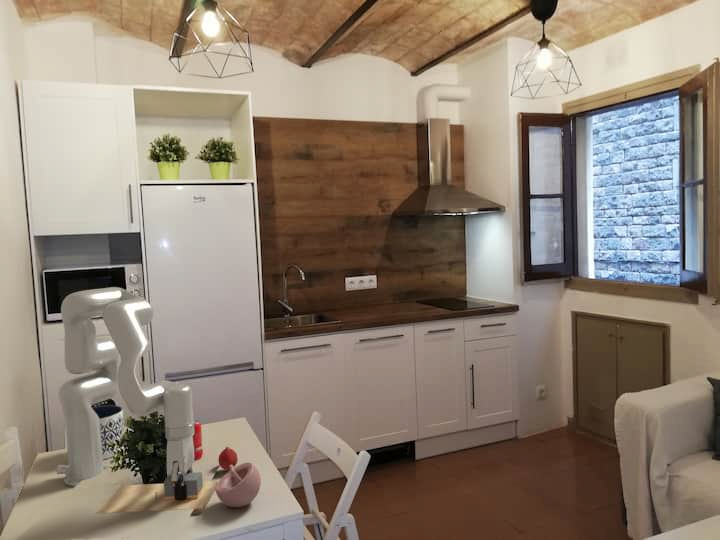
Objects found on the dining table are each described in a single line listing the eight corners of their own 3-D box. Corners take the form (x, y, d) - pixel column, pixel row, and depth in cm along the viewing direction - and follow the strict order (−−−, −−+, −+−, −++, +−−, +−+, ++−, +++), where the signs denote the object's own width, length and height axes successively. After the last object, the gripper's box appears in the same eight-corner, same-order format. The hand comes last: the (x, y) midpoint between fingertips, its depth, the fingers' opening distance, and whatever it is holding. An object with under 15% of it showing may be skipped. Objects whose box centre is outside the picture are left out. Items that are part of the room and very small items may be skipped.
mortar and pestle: (214, 499, 153) (211, 459, 152) (257, 490, 157) (255, 451, 156) (219, 520, 141) (216, 476, 141) (265, 509, 145) (263, 467, 145)
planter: (64, 460, 186) (60, 418, 185) (99, 442, 201) (96, 404, 200) (102, 464, 181) (99, 421, 180) (135, 445, 196) (132, 406, 195)
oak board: (95, 518, 145) (95, 513, 145) (121, 490, 161) (121, 485, 161) (202, 513, 145) (201, 508, 145) (217, 485, 161) (217, 480, 161)
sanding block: (165, 499, 150) (163, 481, 150) (171, 491, 155) (169, 473, 155) (197, 497, 150) (196, 480, 150) (203, 489, 155) (201, 472, 155)
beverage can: (189, 462, 179) (187, 426, 178) (184, 457, 183) (182, 422, 183) (205, 457, 182) (203, 422, 181) (199, 453, 186) (197, 418, 186)
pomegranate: (216, 470, 172) (214, 445, 171) (233, 465, 175) (231, 441, 174) (223, 476, 167) (222, 451, 166) (241, 471, 170) (239, 446, 170)
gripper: (176, 420, 160) (180, 480, 161) (155, 442, 143) (159, 510, 144) (202, 419, 160) (206, 479, 161) (183, 441, 143) (188, 508, 144)
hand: (184, 493), depth 153 cm, fingers closed on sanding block, 5 cm apart
